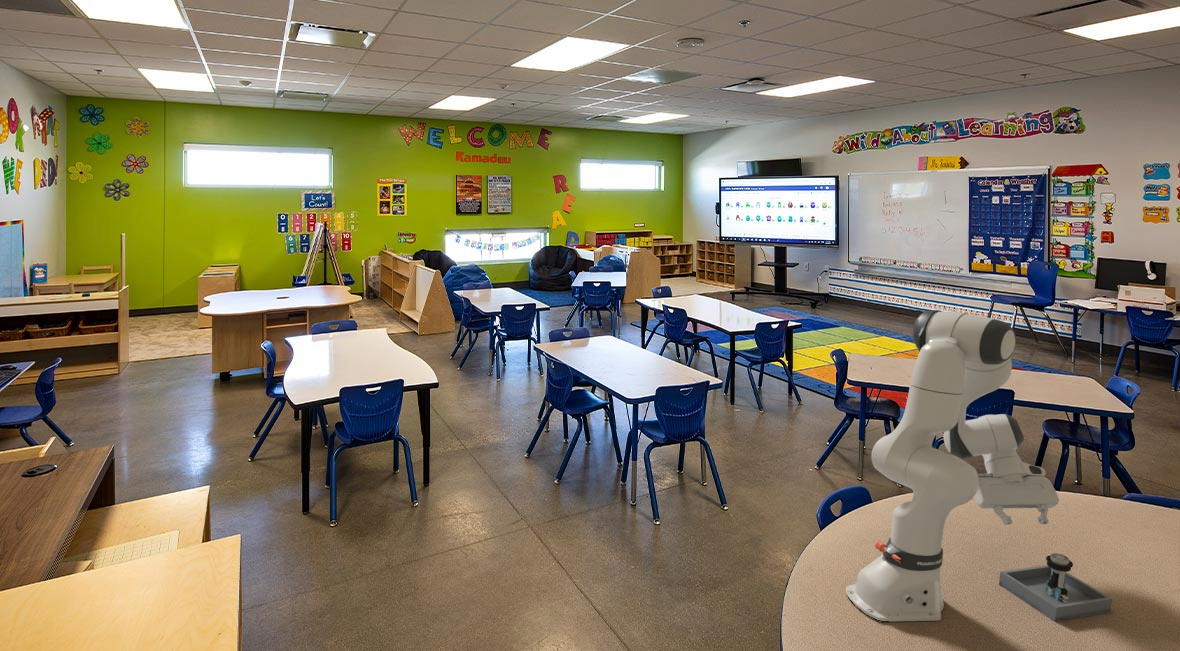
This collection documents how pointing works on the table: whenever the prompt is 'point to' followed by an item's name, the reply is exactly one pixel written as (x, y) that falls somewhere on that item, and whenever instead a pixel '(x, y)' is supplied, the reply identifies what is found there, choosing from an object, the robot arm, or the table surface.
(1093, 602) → the dock tray
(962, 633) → the table surface
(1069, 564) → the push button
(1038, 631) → the table surface
